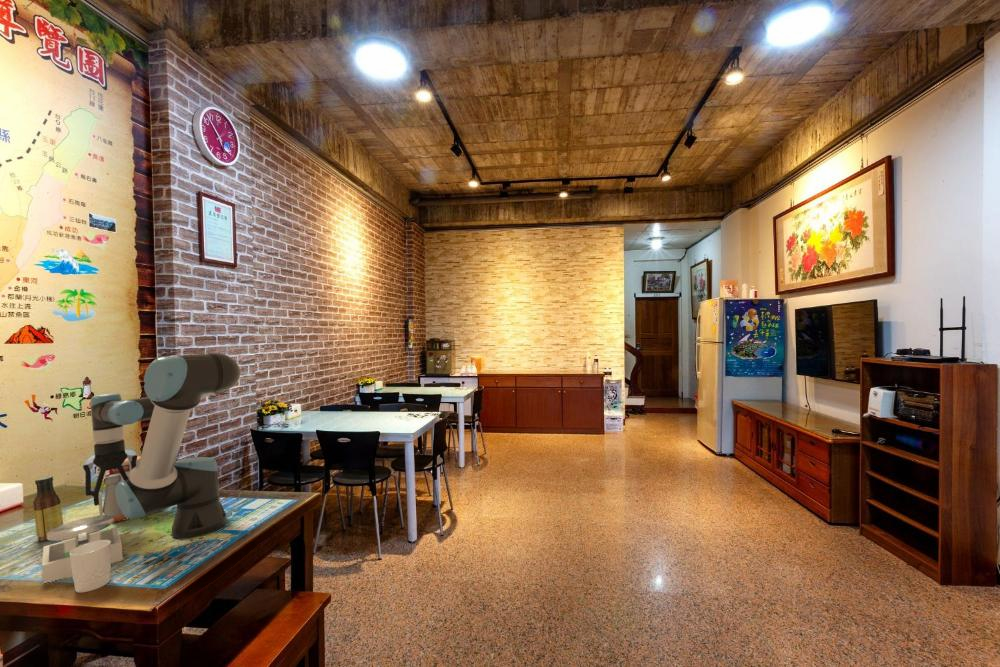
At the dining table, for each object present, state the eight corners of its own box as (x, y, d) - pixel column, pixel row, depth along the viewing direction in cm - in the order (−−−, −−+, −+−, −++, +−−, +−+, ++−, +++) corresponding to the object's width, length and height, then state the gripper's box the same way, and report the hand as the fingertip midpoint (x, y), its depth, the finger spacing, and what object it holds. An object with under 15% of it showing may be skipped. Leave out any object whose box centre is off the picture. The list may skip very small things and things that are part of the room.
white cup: (68, 588, 114) (65, 550, 114) (107, 573, 121) (105, 537, 120) (77, 597, 110) (74, 557, 109) (117, 581, 116) (115, 543, 116)
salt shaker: (112, 519, 143) (109, 478, 143) (98, 518, 144) (95, 478, 144) (131, 511, 148) (128, 472, 148) (117, 511, 150) (114, 472, 149)
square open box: (123, 560, 127) (120, 526, 127) (43, 585, 116) (40, 548, 116) (117, 542, 139) (115, 511, 139) (44, 563, 128) (42, 529, 128)
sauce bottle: (68, 531, 150) (64, 473, 149) (57, 539, 144) (53, 478, 143) (42, 535, 147) (38, 476, 147) (31, 544, 141) (26, 482, 141)
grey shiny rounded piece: (118, 548, 125) (116, 527, 125) (47, 569, 115) (45, 546, 115) (112, 530, 138) (111, 511, 138) (48, 548, 128) (47, 527, 128)
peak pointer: (88, 542, 121) (87, 540, 121) (78, 545, 120) (77, 542, 120) (87, 539, 122) (87, 537, 122) (77, 542, 121) (77, 540, 121)
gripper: (144, 433, 155) (149, 499, 155) (69, 446, 142) (74, 518, 142) (146, 436, 150) (152, 504, 150) (69, 449, 137) (75, 524, 137)
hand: (114, 510), depth 146 cm, fingers closed on salt shaker, 6 cm apart
